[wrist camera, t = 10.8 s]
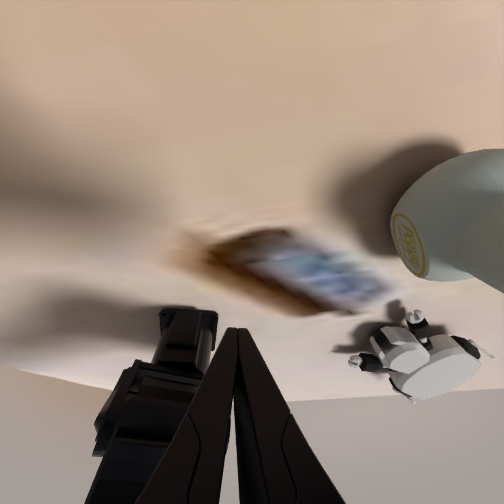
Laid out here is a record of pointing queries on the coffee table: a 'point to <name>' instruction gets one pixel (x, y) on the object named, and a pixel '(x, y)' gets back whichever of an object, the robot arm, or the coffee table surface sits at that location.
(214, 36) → the coffee table surface
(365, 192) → the coffee table surface
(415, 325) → the robot toy
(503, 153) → the air freshener
